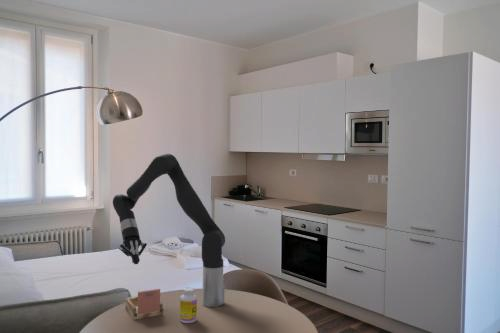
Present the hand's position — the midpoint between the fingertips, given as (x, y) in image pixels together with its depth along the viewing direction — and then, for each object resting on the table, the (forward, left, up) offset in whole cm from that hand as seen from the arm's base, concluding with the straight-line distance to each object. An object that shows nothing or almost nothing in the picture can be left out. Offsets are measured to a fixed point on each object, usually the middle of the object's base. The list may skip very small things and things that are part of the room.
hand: (136, 263), depth 177 cm
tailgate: (-1, +17, -17) cm, 24 cm away
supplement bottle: (-14, +28, -19) cm, 36 cm away
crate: (-1, +10, -19) cm, 21 cm away
